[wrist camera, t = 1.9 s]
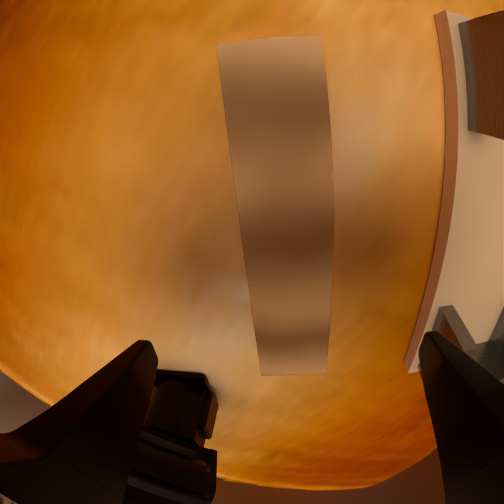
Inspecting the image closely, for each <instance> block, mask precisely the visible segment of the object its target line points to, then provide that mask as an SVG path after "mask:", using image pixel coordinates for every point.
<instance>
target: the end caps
mask: <svg viewBox="0 0 504 504" xmlns="http://www.w3.org/2000/svg"><path fill="white" fill-rule="evenodd" d="M458 27H459V33H460V39H461V45H462V51H463V59H464V68H465V78H466V91H467V117H468V130H469V131H473V132H477V133H481V134H484V135H488V136H492V137H495V138H498V139H502V140H504V10H503V11H499V12H495V13H492V14H488V15H484V16H481V17H478V18H474V19H471V20H468V21H465V22H462V23H459V24H458ZM432 331H438V332H440V333H441V334H442V335H443V336H445V337H446V338H447V339H449V340H450V341H451V342H452V343H454V344H455V345H456V346H457V347H459V348H460V349H461V350H463V351H464V352H465V353H466V354H468V355H469V356H470V357H471V358H473V359H474V360H475V361H476V362H477V363H479V364H480V365H481V366H482V367H484V368H485V369H486V370H487V371H488V372H490V373H491V374H492V375H493V376H494V377H496V378H497V379H498V380H499V381H500V382H502V383H503V384H504V307H503V309H502V312H501V314H500V316H499V319H498V321H497V323H496V325H495V328H494V330H493V332H492V334H491V336H490V338H489V340H488V341H486V342H482V343H478V344H476V343H475V341H474V340H473V338H472V336H471V334H470V333H469V331H468V329H467V328H466V326H465V324H464V323H463V321H462V319H461V318H460V316H459V314H458V313H457V311H456V310H455V308H454V307H453V305H448V306H441V307H439V310H438V313H437V316H436V319H435V322H434V325H433V328H432ZM418 369H419V372H420V375H421V378H422V372H421V367H420V362H419V364H418ZM422 381H423V378H422Z"/></svg>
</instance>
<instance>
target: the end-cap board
mask: <svg viewBox="0 0 504 504" xmlns="http://www.w3.org/2000/svg"><path fill="white" fill-rule="evenodd" d="M434 16H435V21H436V26H437V32H438V38H439V44H440V51H441V59H442V68H443V78H444V92H445V115H446V142H445V167H444V181H443V192H442V201H441V210H440V217H439V224H438V231H437V237H436V243H435V248H434V254H433V259H432V264H431V268H430V273H429V278H428V282H427V286H426V290H425V294H424V298H423V302H422V305H421V309H420V313H419V316H418V320H417V323H416V326H415V329H414V333H413V336H412V339H411V342H410V345H409V348H408V351H407V354H406V356H405V359H404V363H405V365H406V368H407V372H408V373H413V372H419V369H418V364H419V362H420V361H419V356H418V351H419V347H420V345H421V342H422V339H423V336H424V334H425V333H426V332H428V331H432V328H433V325H434V322H435V319H436V316H437V313H438V310H439V307H441V306H448V305H453V307H454V308H455V310H456V311H457V313H458V314H459V316H460V318H461V319H462V321H463V323H464V324H465V326H466V328H467V329H468V331H469V333H470V334H471V336H472V338H473V340H474V341H475V343H476V344H478V343H482V342H486V341H488V340H489V338H490V336H491V334H492V332H493V330H494V328H495V325H496V323H497V321H498V319H499V316H500V314H501V312H502V309H503V307H504V140H502V139H498V138H495V137H492V136H488V135H484V134H481V133H477V132H473V131H469V130H468V117H467V91H466V78H465V68H464V59H463V51H462V45H461V39H460V33H459V27H458V24H459V23H462V22H465V21H468V20H471V19H472V18H469V17H466V16H463V15H461V14H458V13H454V12H451V11H448V10H444V11H442V12H440V13H438V14H436V15H434Z"/></svg>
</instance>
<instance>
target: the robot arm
mask: <svg viewBox="0 0 504 504" xmlns="http://www.w3.org/2000/svg"><path fill="white" fill-rule="evenodd" d="M418 356H419V361H420V367H421V372H422V378H423V384H424V391H425V396H426V400H427V404H428V408H429V412H430V416H431V420H432V424H433V429H434V433H435V438H436V443H437V448H438V453H439V458H440V465H441V471H442V477H443V484H444V492H445V497H446V498H445V501H446V504H504V384H503V383H502V382H500V381H499V380H498V379H497V378H496V377H494V376H493V375H492V374H491V373H490V372H488V371H487V370H486V369H485V368H484V367H482V366H481V365H480V364H479V363H477V362H476V361H475V360H474V359H473V358H471V357H470V356H469V355H468V354H466V353H465V352H464V351H463V350H461V349H460V348H459V347H457V346H456V345H455V344H454V343H452V342H451V341H450V340H449V339H447V338H446V337H445V336H443V335H442V334H441V333H440V332H438V331H428V332H426V333H425V334H424V336H423V339H422V342H421V345H420V347H419V351H418ZM157 366H158V357H157V355H156V352H155V350H154V348H153V345H152V343H151V342H150V341H148V340H138V341H136V342H135V343H134V344H132V345H131V346H130V347H129V348H127V349H126V350H125V351H123V352H122V353H121V354H119V355H118V356H117V357H116V358H114V359H113V360H112V361H110V362H109V363H108V364H107V365H105V366H104V367H103V368H101V369H100V370H99V371H97V372H96V373H95V374H94V375H92V376H91V377H90V378H88V379H87V380H86V381H85V382H83V383H82V384H81V385H79V386H78V387H77V388H75V389H74V390H73V391H72V392H70V393H69V394H68V395H67V397H66V396H65V397H64V398H62V399H61V400H60V401H59V402H57V403H56V404H54V405H53V406H52V407H50V408H49V409H48V410H46V411H45V412H43V413H42V414H40V415H39V416H37V417H36V418H34V419H32V420H30V421H29V422H27V423H26V424H24V425H23V426H21V427H19V428H18V429H16V430H14V431H11V432H9V433H2V434H1V433H0V504H211V503H212V500H213V498H214V495H215V490H216V473H217V450H213V449H207V448H204V444H205V439H210V438H211V437H212V433H213V428H214V424H215V419H216V414H217V410H218V404H217V401H216V398H215V396H214V393H213V392H212V391H211V389H210V387H209V384H208V381H207V378H206V376H204V375H202V374H192V373H180V372H169V371H160V370H157Z"/></svg>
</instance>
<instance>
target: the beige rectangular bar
mask: <svg viewBox="0 0 504 504" xmlns="http://www.w3.org/2000/svg"><path fill="white" fill-rule="evenodd" d="M216 45H217V53H218V61H219V69H220V77H221V85H222V93H223V101H224V109H225V117H226V124H227V132H228V140H229V147H230V155H231V163H232V170H233V178H234V185H235V192H236V200H237V207H238V215H239V222H240V229H241V236H242V244H243V251H244V258H245V265H246V272H247V279H248V286H249V293H250V300H251V307H252V314H253V321H254V328H255V335H256V342H257V349H258V356H259V362H260V369H261V376H266V375H306V374H324V373H326V364H327V354H328V343H329V330H330V316H331V299H332V277H333V233H334V211H333V167H332V146H331V129H330V115H329V103H328V92H327V82H326V73H325V64H324V56H323V49H322V41H321V35H301V36H281V37H268V38H258V39H249V40H241V41H234V42H227V43H221V44H216Z"/></svg>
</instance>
